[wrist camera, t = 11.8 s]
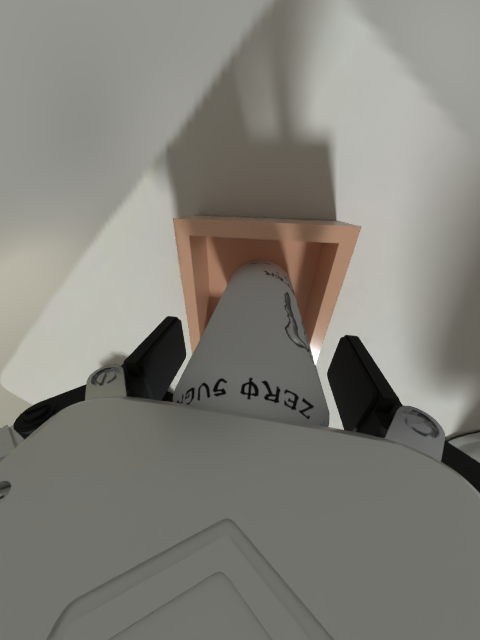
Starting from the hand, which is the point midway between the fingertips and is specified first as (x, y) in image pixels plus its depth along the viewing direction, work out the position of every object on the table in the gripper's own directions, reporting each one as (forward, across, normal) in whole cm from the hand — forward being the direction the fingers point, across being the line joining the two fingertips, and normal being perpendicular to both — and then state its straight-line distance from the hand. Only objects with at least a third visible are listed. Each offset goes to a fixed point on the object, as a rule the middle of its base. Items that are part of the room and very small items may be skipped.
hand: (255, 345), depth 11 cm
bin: (+10, 0, 0) cm, 10 cm away
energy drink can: (+9, 0, 0) cm, 9 cm away
